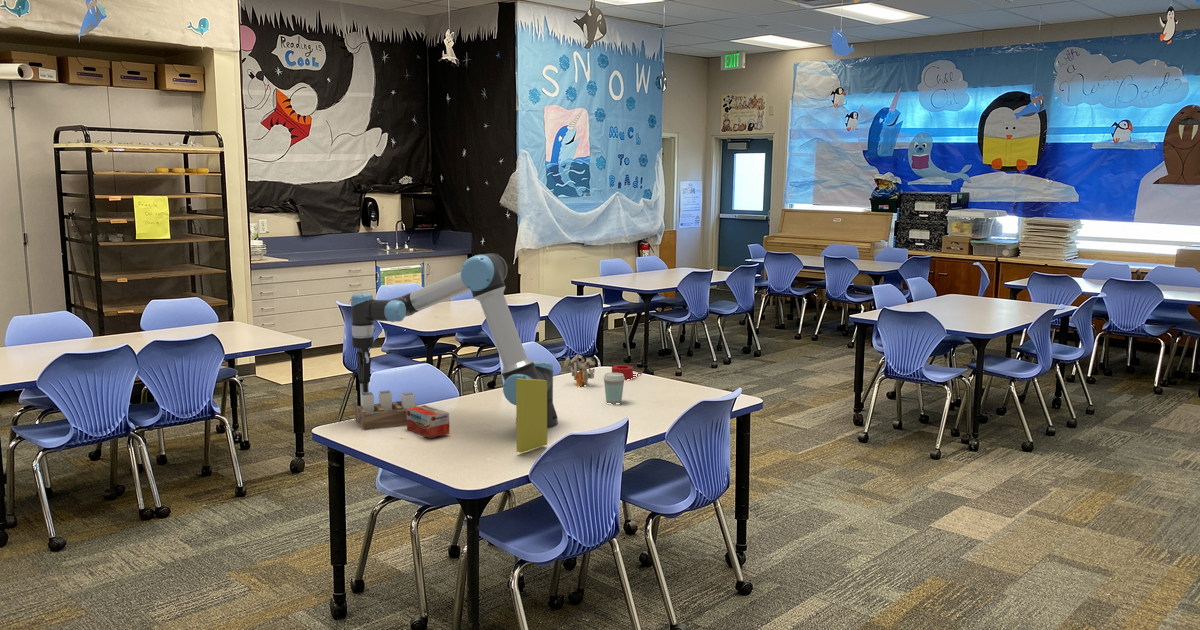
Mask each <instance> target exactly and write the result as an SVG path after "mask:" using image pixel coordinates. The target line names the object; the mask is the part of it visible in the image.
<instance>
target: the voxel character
mask: <svg viewBox="0 0 1200 630" xmlns="http://www.w3.org/2000/svg"><path fill="white" fill-rule="evenodd" d="M579 359H580V360H579ZM585 360H586V361H585ZM570 363H572V364H573V365H571V367H570V371H571V376H572V377H573V380H574V381H576V386H577V385H578V386H582V387H583V385H587V386H588V381H589V379H592V380H593V379H594V378H595V368H592V369H591V368H589V365H590V366H595V365H596V362H595V361H594V360H593V361H592V358H586V359H585V358H584V357H583V355H581V354H576V355H574V357H573V358H572V359H571V358H570V357H565V361H564V363H563V365H562V366H563V367H562V369H563V370H565V369H567V368H568V366H569V364H570Z"/></svg>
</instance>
